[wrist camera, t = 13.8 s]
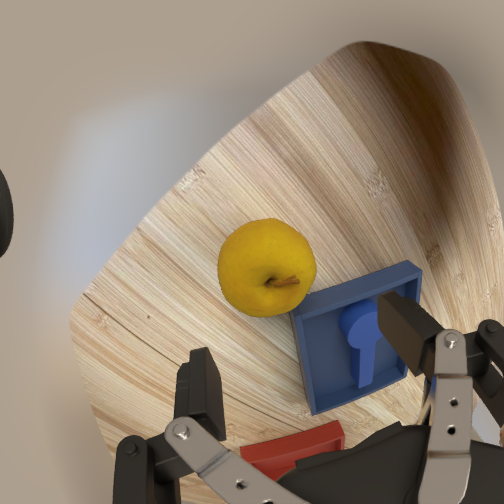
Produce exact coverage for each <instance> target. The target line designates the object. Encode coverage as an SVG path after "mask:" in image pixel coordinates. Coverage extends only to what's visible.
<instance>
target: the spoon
mask: <svg viewBox="0 0 504 504" xmlns="http://www.w3.org/2000/svg"><path fill="white" fill-rule="evenodd" d="M338 325H339V329H340V331H341V332H342V334H343V335H344V337H345V338H346V340H347V341H348V343H349V345H350V346H351V376H352V378H353V379H354V381H355V383H356V385H357V387H358V388H362V387H364V386H366V385H369V384H371V383H372V379H373V369H374V358H375V344H376V342H377V341H378V340H379V339H380V338H381V337H382V335H383V334H382V333H381V332H380V330H379V327H378V323H377V305H376V304H375V303H374V302H373V301H372V300H370V299H363V300H360V301H357V302H354V303H352V304H349V305H348V306H347V307H346V308H345V309H344V310H343V312H342V313H341V315H340V318H339V322H338Z"/></svg>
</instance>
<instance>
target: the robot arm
mask: <svg viewBox="0 0 504 504" xmlns="http://www.w3.org/2000/svg"><path fill="white" fill-rule="evenodd" d="M377 323H378V327H379V330H380V332H381V333H382V334H383V336H384V337H385V338H386V339H387V341H388V342H389V343H390V345H391V346H392V347H393V348H394V350H395V351H396V352H397V354H398V355H399V356H400V358H401V359H402V360H403V361H404V363H405V364H406V365H407V367H408V368H409V369H410V371H411V372H412V373H413V375H414V376H415V377H417V376H418V375H420V374H422V373H424V375H425V376H426V377H425V381H424V390H423V397H422V404H421V411H420V415H419V419H418V422H417V425H407V426H402V425H401V423H400V421H398V422H396V423H394V424H392V425H389V426H387V427H385V428H383V429H381V430H379V431H376V432H375V433H373V434H372V435H371V436H369V437H368V438H366V439H365V440H364V441H362V442H361V443H359V444H358V445H356V446H355V447H353V448H351V449H345V450H338V451H330V452H322V453H319V454H315V455H312V456H309V457H305V458H302V459H298V460H295V464H296V467H294V468H292V469H290V470H289V471H287V472H286V473H284V474H283V475H282V476H280V477H279V478H278V479H277V480H276V481H273V480H272V479H270V478H269V477H267V476H266V475H264V474H263V473H262V472H260V471H259V470H257V469H256V468H255V467H253V466H252V465H251V464H249V463H248V462H247V461H245V460H244V459H243V458H241V457H240V456H239V455H238V454H236V453H235V452H234V451H232V450H230V449H227V448H226V447H225V446H223V445H222V444H221V443H220V442H219V441H225V440H226V430H225V419H224V408H223V396H222V383H221V377H220V373H219V370H218V368H217V366H216V364H215V362H214V360H213V358H212V355H211V353H210V351H209V349H208V348H207V347H203V348H199V349H194V350H191V351H190V360H189V362H187V363H182V365H181V367H180V369H179V370H178V372H177V381H176V382H177V384H176V392H175V405H174V418H173V420H172V421H171V422H170V423H169V424H168V425H167V427H166V429H165V432H163V433H162V434H160V435H157V436H155V437H152V438H149V439H147V440H144V439H143V438H142V437H140V436H137V435H131V436H128V437H125V438H124V439H123V440H122V441H121V442H120V443H119V444H118V447H117V451H116V461H115V472H114V486H113V504H181V496H180V484H179V478H180V477H183V476H186V475H188V474H191V473H194V472H196V473H197V474H198V476H199V477H200V478H201V479H202V480H203V481H204V482H205V483H206V484H207V485H208V486H209V487H210V488H211V489H212V490H213V491H214V492H215V493H216V494H218V495H219V496H220V497H221V498H222V499H223V500H224V501H225V502H227V503H228V504H504V327H503V326H502V325H501V324H500V323H499V322H497V321H495V320H491V319H487V320H484V321H482V322H481V323H480V324H479V326H478V329H477V331H475V332H471V333H467V334H462V333H461V332H459V331H457V330H454V329H444V328H443V327H442V326H441V325H440V324H439V323H438V322H437V321H436V320H435V319H434V318H433V317H432V316H431V315H430V314H429V313H428V312H427V313H426V311H425V310H424V309H423V308H421V306H420V305H419V304H418V303H417V302H416V301H415V300H413V299H411V298H408V297H406V296H404V297H401V296H400V295H399V294H398V293H397V292H396V291H395V290H391V291H388V292H386V293H383V294H380V295H379V296H378V306H377ZM492 361H493V362H494V363H495V364H496V366H497V367H498V368H499V369H500V370H501V372H502V373H503V377H502V376H501V375H500V374H499V372H498V371H497V370H496V369H495V367H494V366H493V365H492V364H491V363H492ZM473 389H474V390H475V391H476V393H477V394H478V395H479V397H480V398H481V399H482V401H483V403H484V404H485V405H486V407H487V408H488V410H489V411H490V413H491V414H492V416H493V417H494V419H495V420H496V422H497V423H498V425H499V426H500V428H501V430H500V441H499V443H500V446H497V445H492V444H488V443H484V442H480V441H476V440H472V439H471V429H472V408H473Z"/></svg>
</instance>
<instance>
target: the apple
mask: <svg viewBox="0 0 504 504" xmlns="http://www.w3.org/2000/svg"><path fill="white" fill-rule="evenodd" d="M315 276H316V262H315V258H314V255H313V252H312V250H311V247H310V245H309V243H308V242H307V240H306V239H305V238H304V237H303V236H302V235H301V234H300V233H299V232H298V231H296V230H295V229H294V228H292V227H291V226H289V225H288V224H286V223H284V222H282V221H280V220H278V219H275V218H269V219H262V220H256V221H252V222H249V223H247V224H245V225H243V226H241V227H240V228H238V229H237V230H236V231H234V232H233V233H232V234H231V235H230V236H229V237H228V238H227V240H226V241H225V242H224V244H223V245H222V247H221V251H220V254H219V259H218V278H219V283H220V286H221V290H222V293H223V295H224V297H225V298H226V300H227V301H228V302H229V303H230V304H231V305H232V306H233V307H235V308H236V309H238V310H239V311H241V312H243V313H245V314H247V315H249V316H253V317H271V316H275V315H279V314H282V313H286V312H288V311H290V310H292V309H294V308H295V307H296V306H297V305H299V304H300V303H301V301H302V300H303V299H304V297H305V296H306V294H307V293H308V291H309V289H310V287H311V286H312V284H313V282H314V280H315Z"/></svg>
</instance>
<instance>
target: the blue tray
mask: <svg viewBox="0 0 504 504" xmlns="http://www.w3.org/2000/svg"><path fill="white" fill-rule="evenodd" d="M421 283H422V270H421V269H420V268H418V267H417V266H415V265H414V264H413V263H411V262H410V261H408V260H406V261H404V262H401V263H398V264H396V265H393V266H390V267H388V268H385V269H382V270H379V271H377V272H374V273H371V274H368V275H365V276H362V277H359V278H357V279H354V280H351V281H348V282H345V283H342V284H339V285H336V286H333V287H330V288H327V289H323V290H320V291H317V292H314V293H311V294H308V295H306V296H305V297H304V299H303V300H302V301H301V303H300V304H299V305H297V306H296V307H295V308H294V309H292V310H290V311H289V314H290V319H291V324H292V328H293V333H294V338H295V343H296V348H297V353H298V358H299V363H300V369H301V374H302V379H303V384H304V390H305V395H306V400H307V403H308V406H309V409H310V411H311V414H312V416H313V415H316V414H320V413H323V412H325V411H328V410H331V409H334V408H337V407H339V406H342V405H345V404H347V403H350V402H352V401H355V400H357V399H360V398H362V397H364V396H367V395H369V394H371V393H374V392H376V391H378V390H380V389H383V388H385V387H387V386H389V385H391V384H393V383H395V382H397V381H399V380H401V379H403V378H405V377H406V376H407V372H408V367H407V365H406V364H405V363H404V361H403V360H402V359H401V358H400V356H399V355H398V354H397V352H396V351H395V350H394V348H393V347H392V346H391V345H390V343H389V342H388V341H387V339H386V338H385V337H384V336H383V335H382V337H381V338H380V339H379V340H378V341H377V342H376V344H375V358H374V369H373V379H372V383H371V384H369V385H366V386H364V387H362V388H358V387H357V385H356V383H355V381H354V379H353V378H352V376H351V346H350V345H349V343H348V341H347V340H346V338H345V337H344V335H343V334H342V332H341V331H340V329H339V325H338V322H339V318H340V315H341V313H342V312H343V310H344V309H345V308H346V307H347V306H348V305H349V304H352V303H354V302H357V301H360V300H363V299H370V300H372V301H373V302H374V303H375V304H376V305H377V306H378V296H379V295H380V294H383V293H386V292H388V291H391V290H395V291H396V292H397V293H398V294H399V295H400V296H401V297H404V296H406V297H408V298H411V299H413V300H415V301H416V302H417V303H418V304H419V302H420V293H421Z"/></svg>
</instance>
